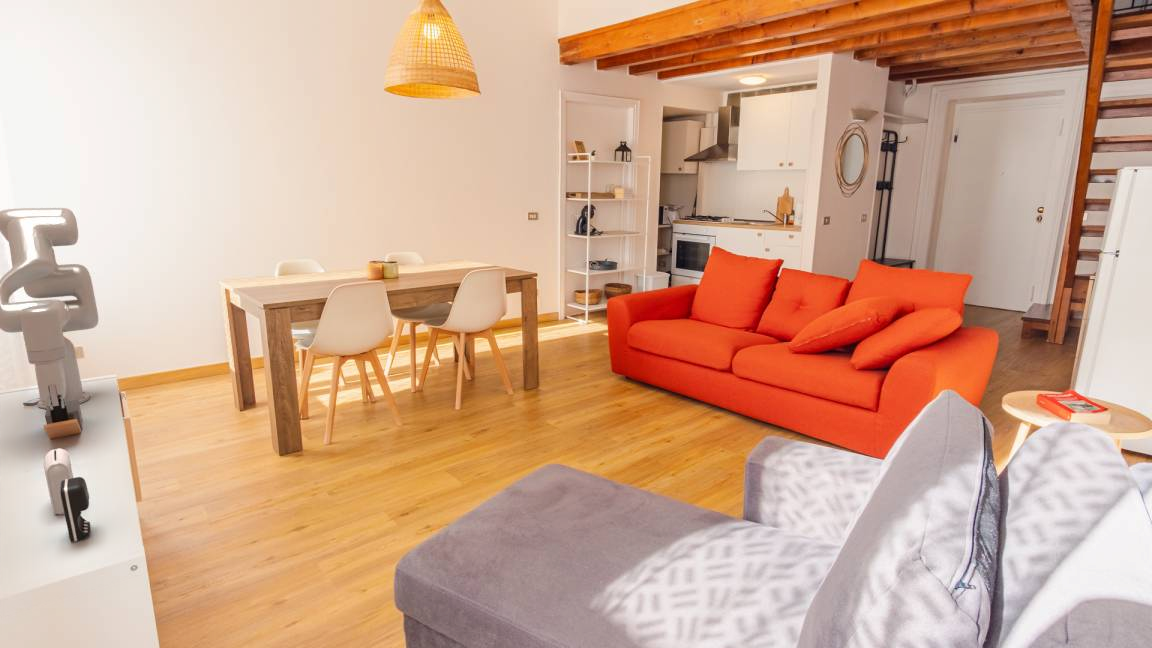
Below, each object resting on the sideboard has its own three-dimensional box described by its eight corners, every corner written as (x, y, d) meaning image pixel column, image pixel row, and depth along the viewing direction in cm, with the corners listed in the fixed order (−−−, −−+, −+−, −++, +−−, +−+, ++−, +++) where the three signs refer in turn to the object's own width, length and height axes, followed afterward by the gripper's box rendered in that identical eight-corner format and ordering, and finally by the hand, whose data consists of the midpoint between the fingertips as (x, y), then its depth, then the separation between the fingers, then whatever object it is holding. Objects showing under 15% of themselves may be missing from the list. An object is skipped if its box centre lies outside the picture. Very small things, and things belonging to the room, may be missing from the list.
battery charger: (94, 537, 124) (84, 486, 121) (70, 544, 121) (59, 491, 119) (94, 522, 129) (85, 472, 126) (71, 528, 127) (61, 477, 124)
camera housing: (50, 428, 174) (45, 403, 172) (83, 422, 178) (78, 398, 176) (49, 440, 166) (43, 414, 164) (83, 434, 170) (78, 408, 169)
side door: (50, 437, 166) (43, 424, 157) (81, 431, 170) (76, 418, 161) (50, 441, 166) (44, 429, 157) (82, 435, 170) (77, 423, 161)
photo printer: (52, 497, 138) (42, 446, 135) (77, 491, 141) (67, 441, 138) (52, 517, 130) (41, 464, 127) (78, 511, 133) (68, 458, 130)
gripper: (29, 350, 160) (43, 416, 164) (25, 364, 148) (40, 435, 153) (67, 345, 164) (79, 410, 169) (65, 359, 153) (79, 428, 157)
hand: (61, 422), depth 161 cm, fingers closed
